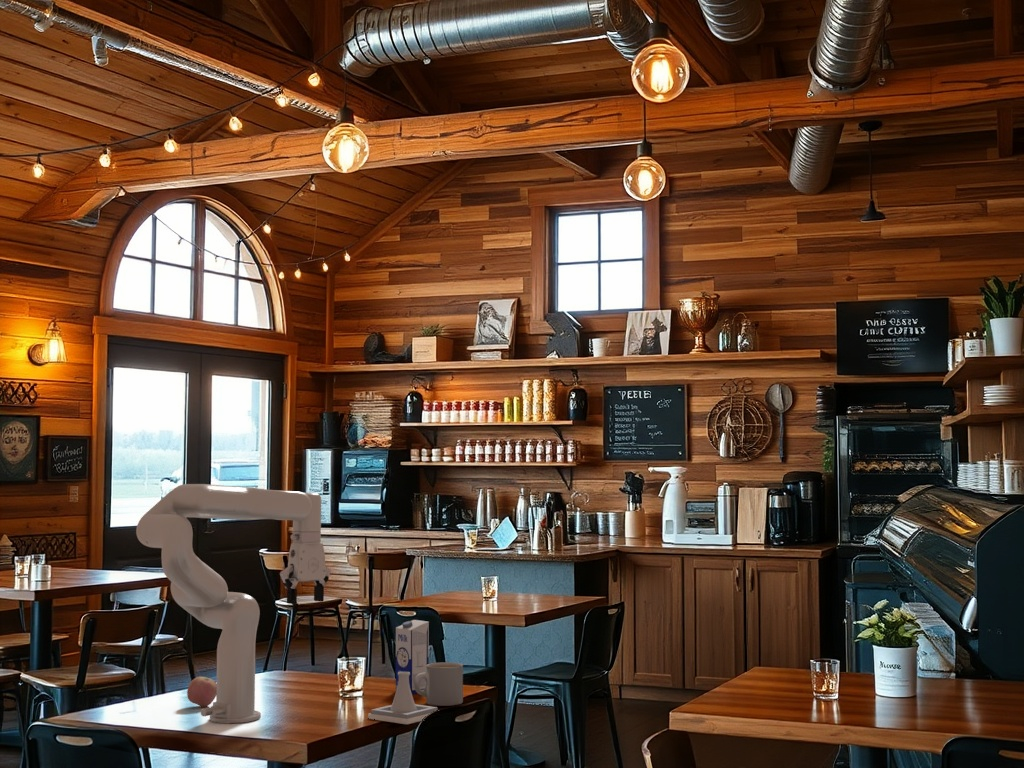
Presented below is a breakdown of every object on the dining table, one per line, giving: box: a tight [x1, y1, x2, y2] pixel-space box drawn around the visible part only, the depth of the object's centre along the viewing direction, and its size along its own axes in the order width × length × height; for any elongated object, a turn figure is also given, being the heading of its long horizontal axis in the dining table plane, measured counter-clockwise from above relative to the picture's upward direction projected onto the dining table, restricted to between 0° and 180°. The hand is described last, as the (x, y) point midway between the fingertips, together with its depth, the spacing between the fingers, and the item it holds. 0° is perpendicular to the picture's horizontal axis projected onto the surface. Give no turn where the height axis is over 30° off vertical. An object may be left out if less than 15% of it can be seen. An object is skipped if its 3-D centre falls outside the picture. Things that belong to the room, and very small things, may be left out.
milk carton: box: [395, 619, 430, 695], centre depth 344 cm, size 7×7×20 cm
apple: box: [186, 676, 217, 708], centre depth 321 cm, size 8×8×8 cm
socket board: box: [367, 703, 439, 725], centre depth 305 cm, size 13×13×2 cm
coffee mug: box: [414, 661, 464, 707], centre depth 326 cm, size 13×10×10 cm
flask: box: [390, 672, 417, 713], centre depth 306 cm, size 7×7×10 cm
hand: (305, 602), depth 323 cm, fingers open, 9 cm apart
